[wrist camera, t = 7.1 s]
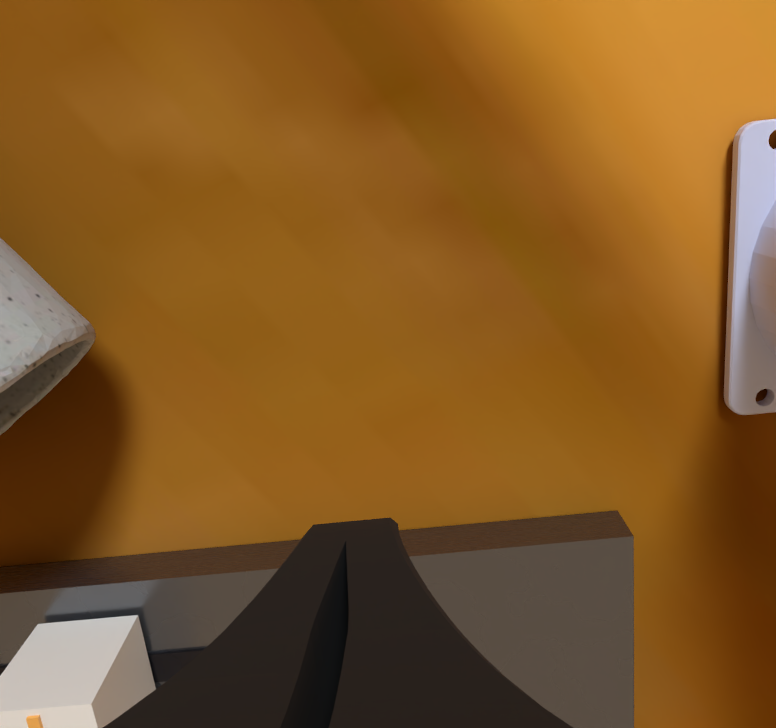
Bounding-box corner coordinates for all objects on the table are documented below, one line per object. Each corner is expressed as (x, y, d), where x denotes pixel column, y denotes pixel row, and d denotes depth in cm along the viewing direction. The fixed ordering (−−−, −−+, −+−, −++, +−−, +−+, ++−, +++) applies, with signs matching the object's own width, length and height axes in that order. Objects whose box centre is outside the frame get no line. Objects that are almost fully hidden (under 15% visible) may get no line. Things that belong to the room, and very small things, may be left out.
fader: (138, 614, 21) (89, 707, 18) (164, 724, 22) (124, 830, 19) (37, 623, 21) (-30, 717, 18) (69, 732, 22) (11, 839, 19)
